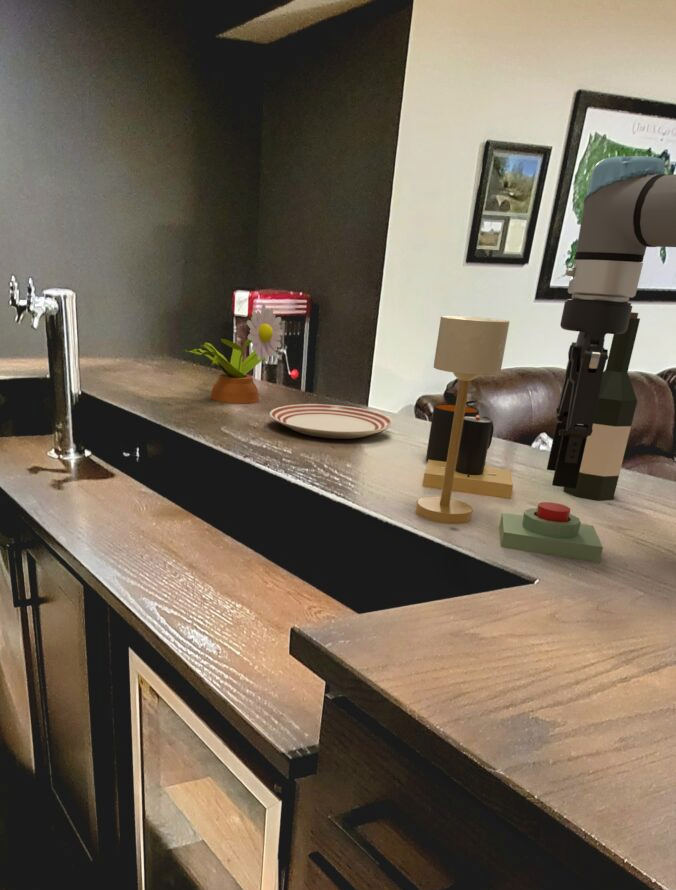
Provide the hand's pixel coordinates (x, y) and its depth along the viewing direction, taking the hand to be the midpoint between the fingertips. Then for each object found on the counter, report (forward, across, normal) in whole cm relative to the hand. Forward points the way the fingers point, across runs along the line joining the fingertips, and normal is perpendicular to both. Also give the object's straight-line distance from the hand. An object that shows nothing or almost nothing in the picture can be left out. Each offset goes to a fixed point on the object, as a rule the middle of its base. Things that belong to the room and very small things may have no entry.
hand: (560, 477), depth 95 cm
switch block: (+9, 0, 0) cm, 9 cm away
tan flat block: (+9, -25, -11) cm, 29 cm away
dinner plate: (+10, -57, -41) cm, 71 cm away
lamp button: (+6, 0, 0) cm, 6 cm away
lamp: (+9, -6, -14) cm, 18 cm away
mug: (+10, -42, -13) cm, 45 cm away
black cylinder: (+7, -25, -11) cm, 28 cm away
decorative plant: (+10, -83, -72) cm, 110 cm away
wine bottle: (+10, -31, +9) cm, 34 cm away
